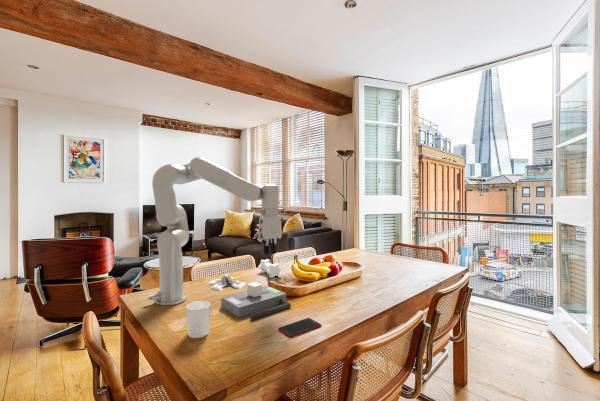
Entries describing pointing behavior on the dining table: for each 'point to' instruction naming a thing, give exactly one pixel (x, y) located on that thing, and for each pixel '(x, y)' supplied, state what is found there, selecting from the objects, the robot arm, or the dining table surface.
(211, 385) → the dining table surface
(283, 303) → the dark grey flat bar
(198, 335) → the white cup
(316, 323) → the cell phone
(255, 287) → the white cube
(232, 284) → the cloth
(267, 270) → the bone shaped toy
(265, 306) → the box
